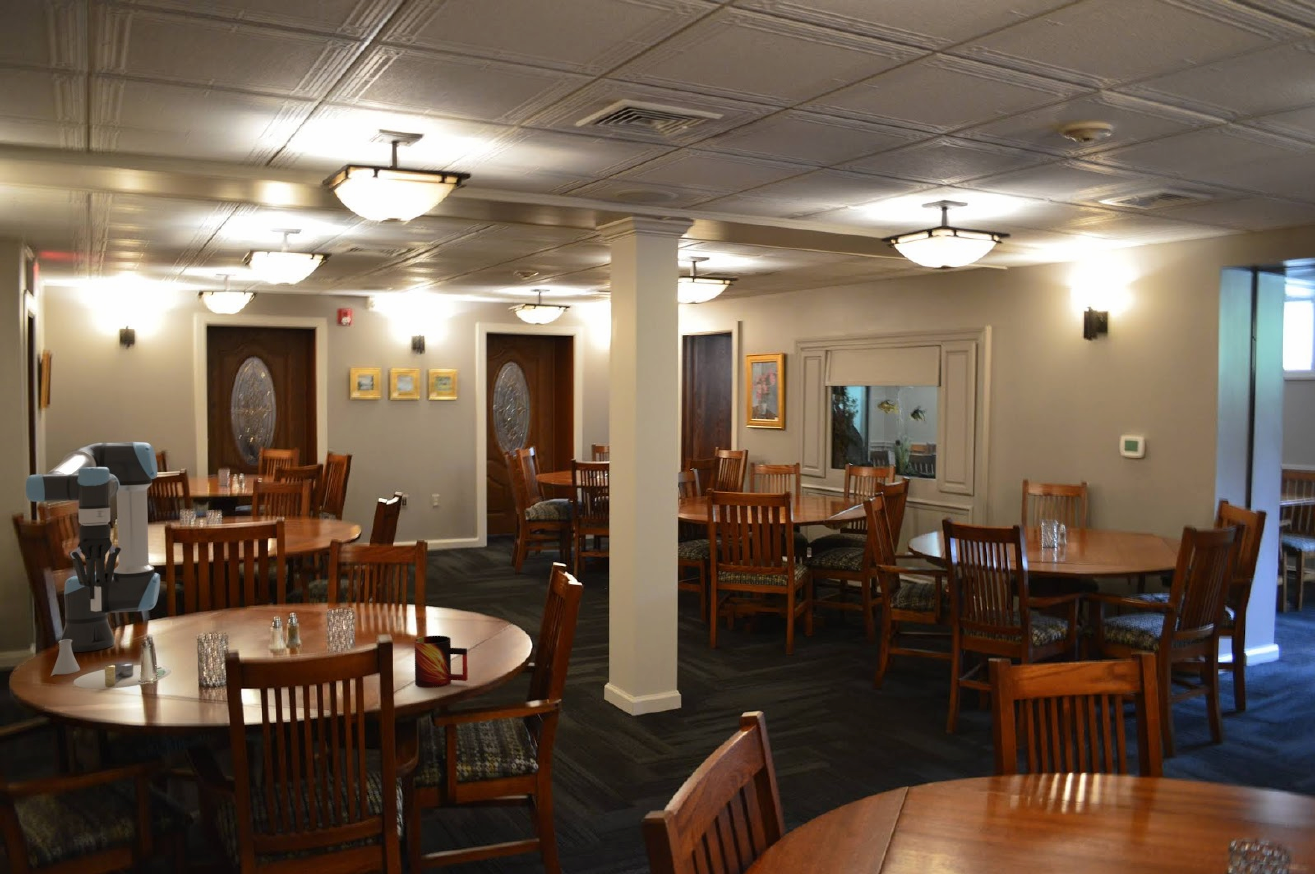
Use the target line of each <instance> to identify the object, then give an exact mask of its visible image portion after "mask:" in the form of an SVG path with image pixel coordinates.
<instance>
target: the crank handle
mask: <svg viewBox="0 0 1315 874" xmlns="http://www.w3.org/2000/svg"><path fill="white" fill-rule="evenodd" d="M133 666H134V663H133V662H132V661H131V662H129V661H127V662H119V663H115V664H108V665H105V666H104V669H105V686H107V687H109V686H114V685H115V683H116V682H118V681H119V680H120V679H121V678H123V677H129V676H132V675H133V674H134V673H133Z"/></svg>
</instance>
